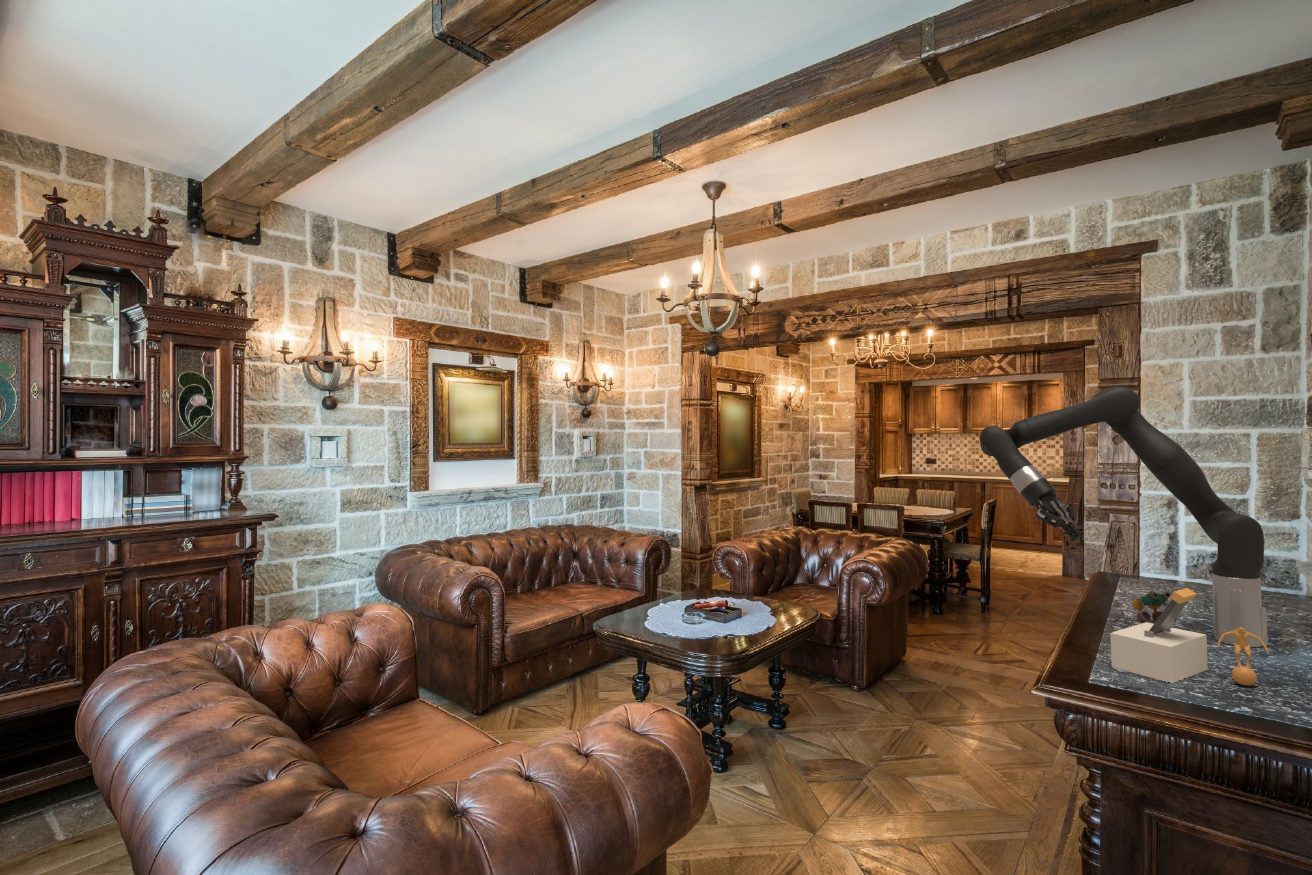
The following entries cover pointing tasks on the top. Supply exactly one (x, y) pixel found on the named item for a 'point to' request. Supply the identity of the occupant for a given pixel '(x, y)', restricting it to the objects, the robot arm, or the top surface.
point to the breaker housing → (1159, 652)
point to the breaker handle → (1172, 610)
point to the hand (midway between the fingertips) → (1078, 537)
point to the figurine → (1245, 673)
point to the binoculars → (1150, 605)
